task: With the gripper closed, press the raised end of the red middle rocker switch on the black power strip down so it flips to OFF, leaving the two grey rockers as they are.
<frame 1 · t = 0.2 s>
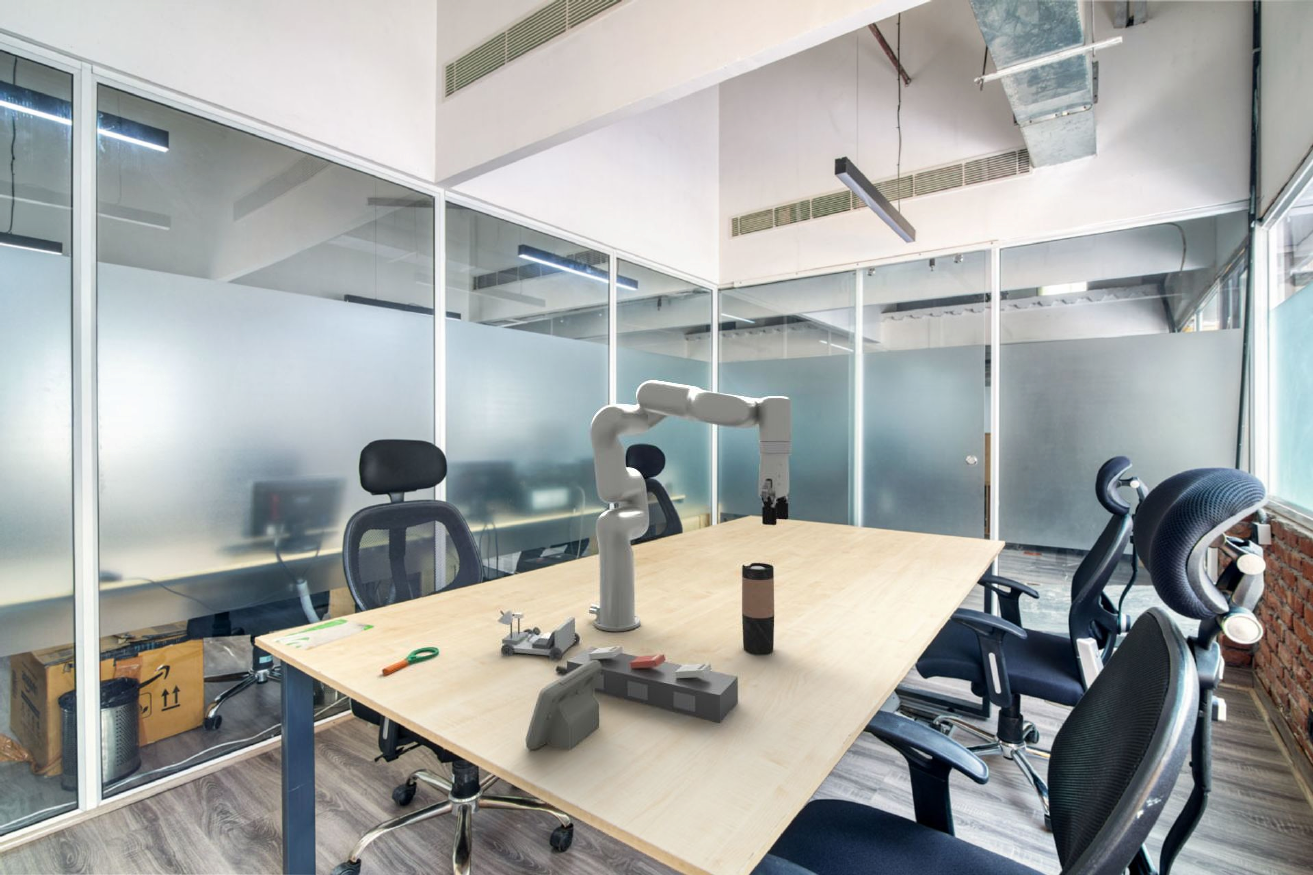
hand: (775, 521, 137), 31 cm above the table, tool pointing down, fingers open, 9 cm apart
rocker left: (605, 652, 121), point 6 cm above the table, hinge at -14.0°
toy car: (536, 650, 141), on the table
rocker right: (693, 670, 111), point 6 cm above the table, hinge at -14.0°
rocker middle: (647, 661, 116), point 6 cm above the table, hinge at -14.0°
travel mug: (758, 650, 139), on the table
power strip: (649, 693, 116), on the table
digital clock: (565, 733, 101), on the table
magnifying glass: (411, 664, 133), on the table
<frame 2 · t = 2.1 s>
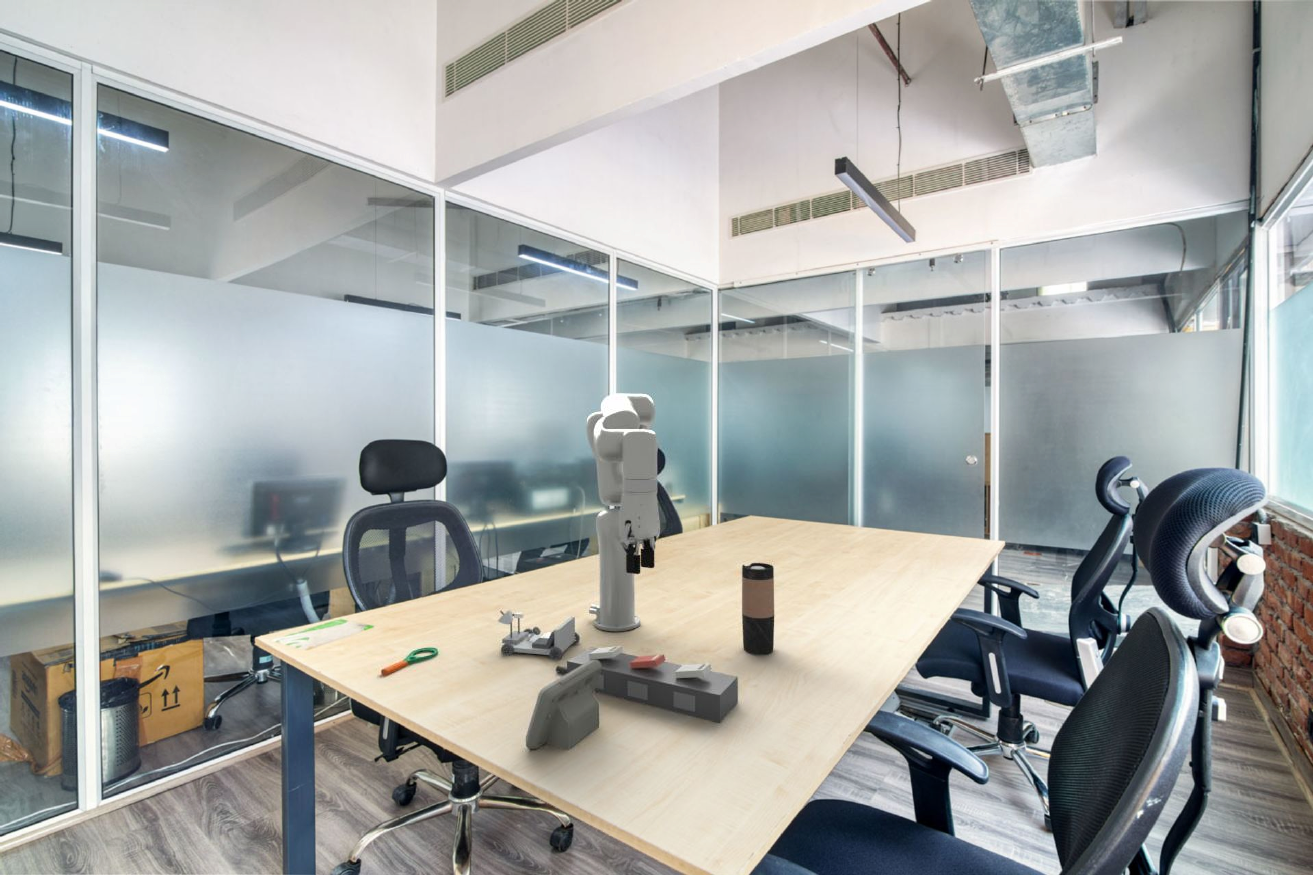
hand: (640, 569, 126), 22 cm above the table, tool pointing down, fingers open, 5 cm apart
nothing on the table moved.
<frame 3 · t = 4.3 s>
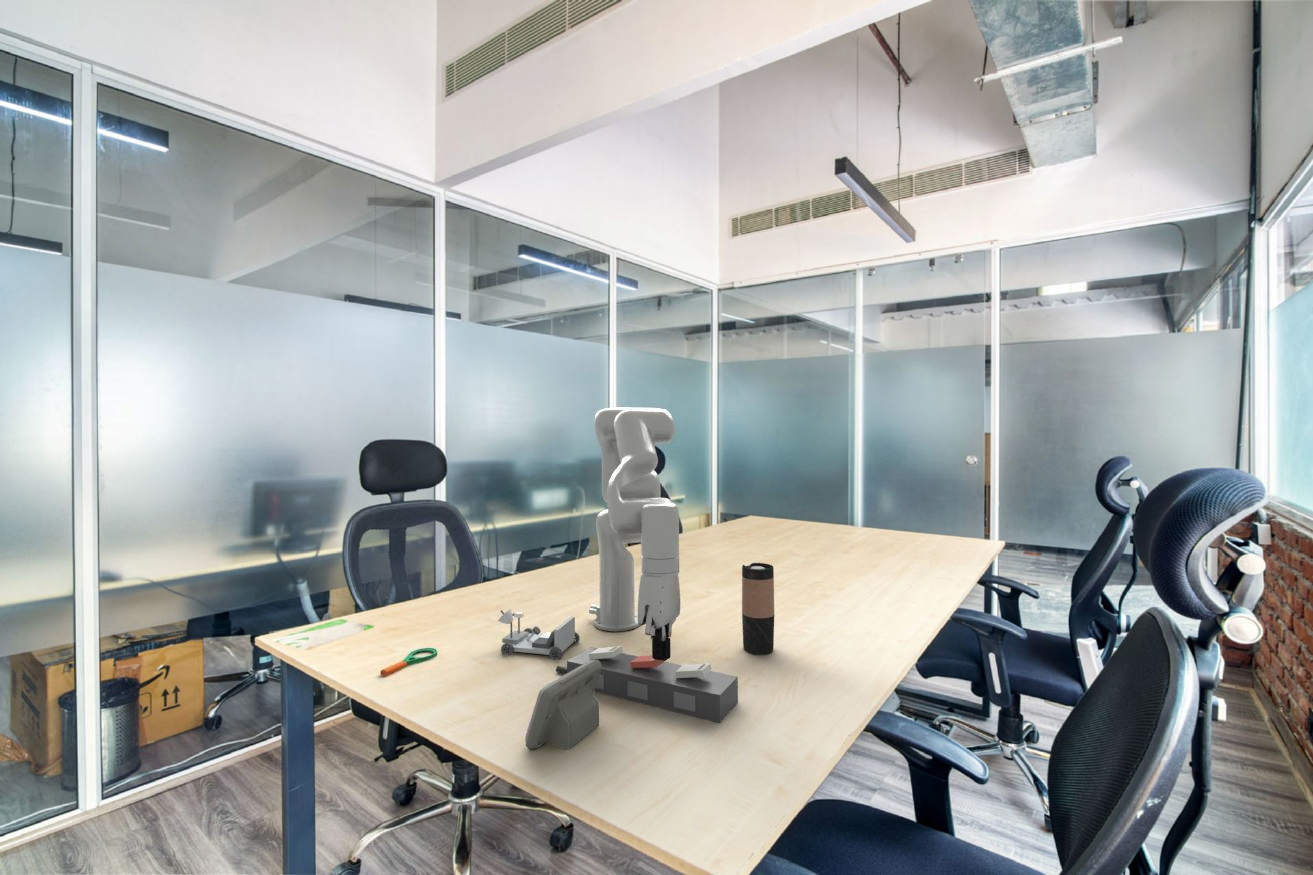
hand: (661, 658, 114), 8 cm above the table, tool pointing down, fingers closed
rocker middle: (647, 661, 116), point 6 cm above the table, hinge at -12.8°, touching gripper
everything else where it was.
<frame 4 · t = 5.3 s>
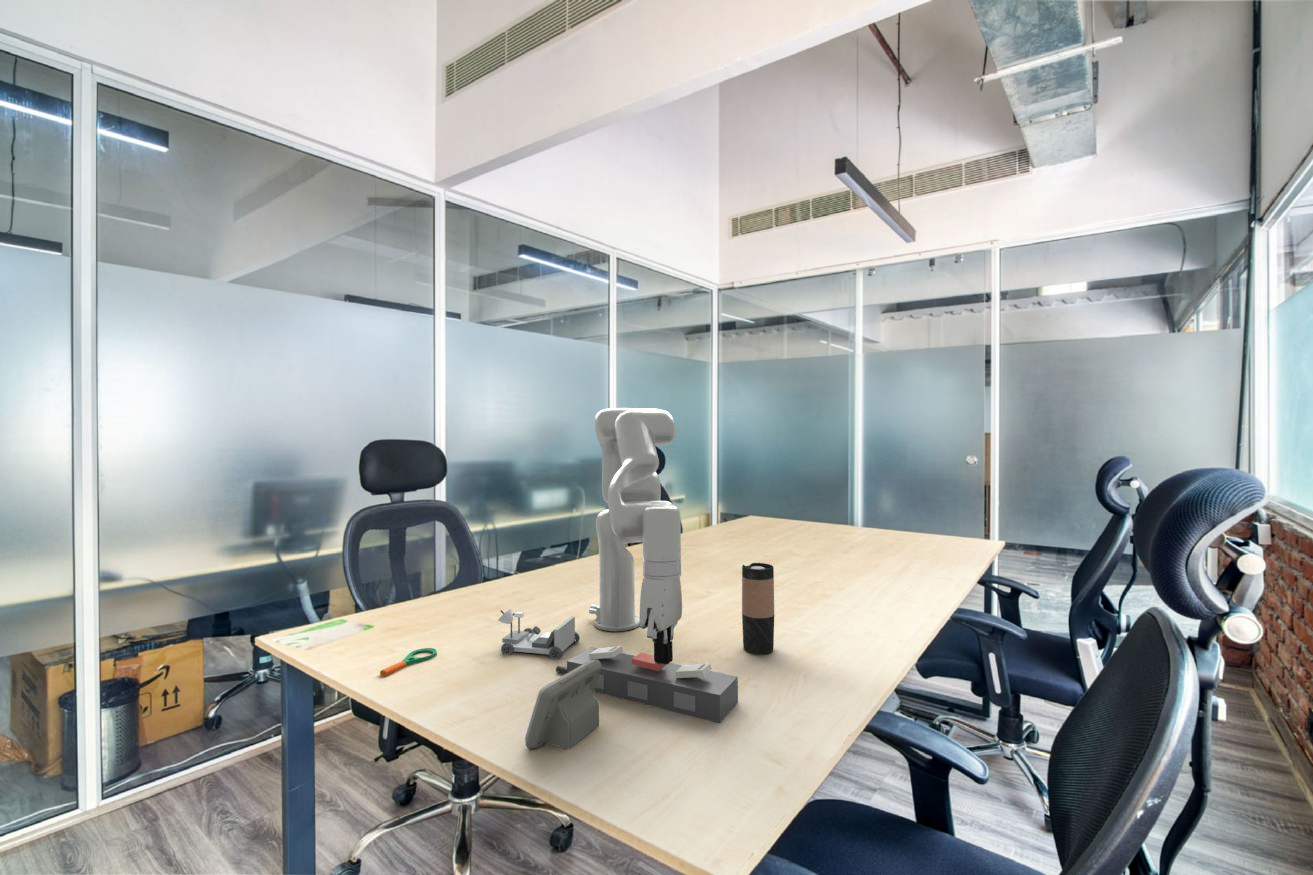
hand: (663, 661, 114), 7 cm above the table, tool pointing down, fingers closed
rocker middle: (649, 661, 116), point 6 cm above the table, hinge at 2.2°, touching gripper
everything else where it was.
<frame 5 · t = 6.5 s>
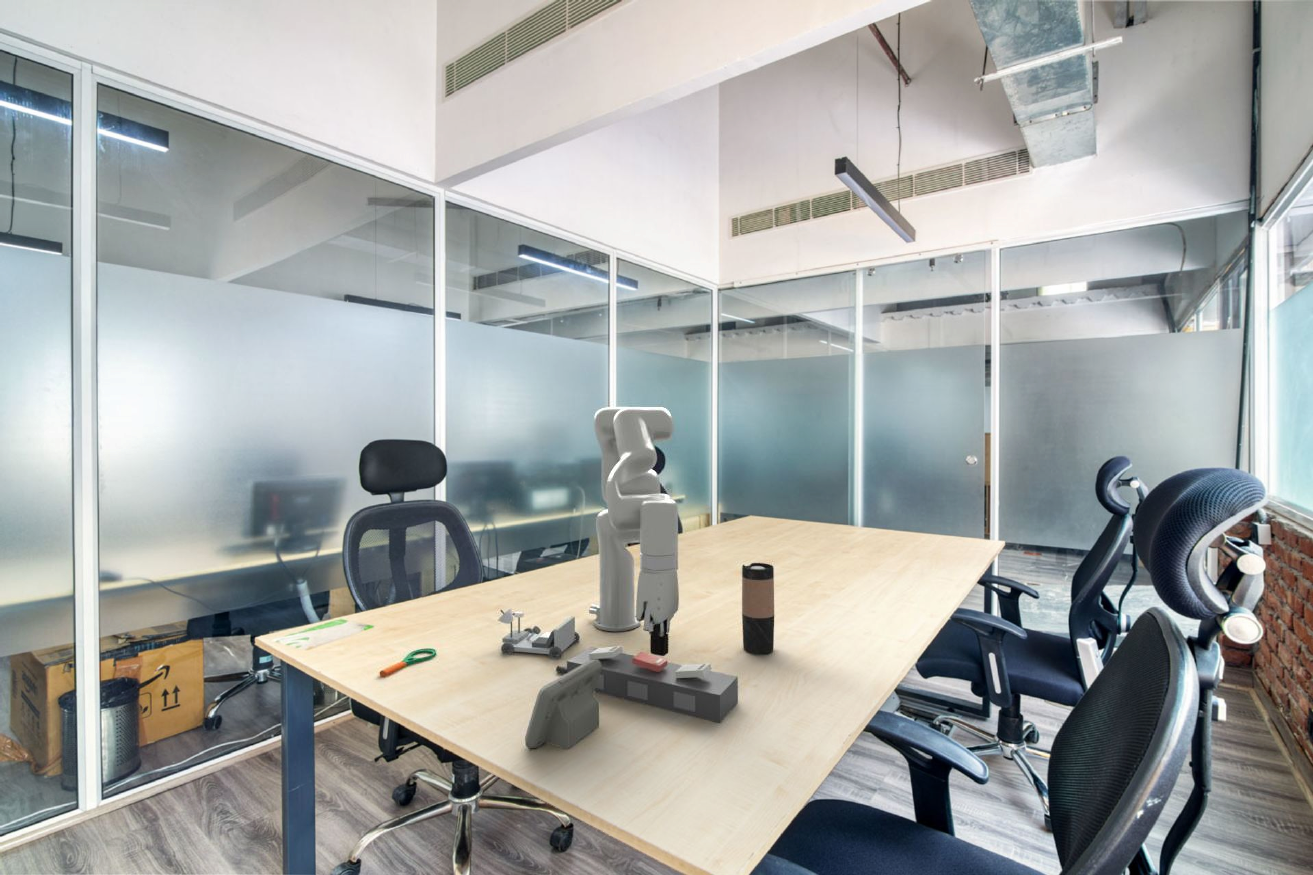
hand: (659, 653, 115), 8 cm above the table, tool pointing down, fingers closed
rocker middle: (649, 661, 116), point 6 cm above the table, hinge at 5.7°
everything else where it was.
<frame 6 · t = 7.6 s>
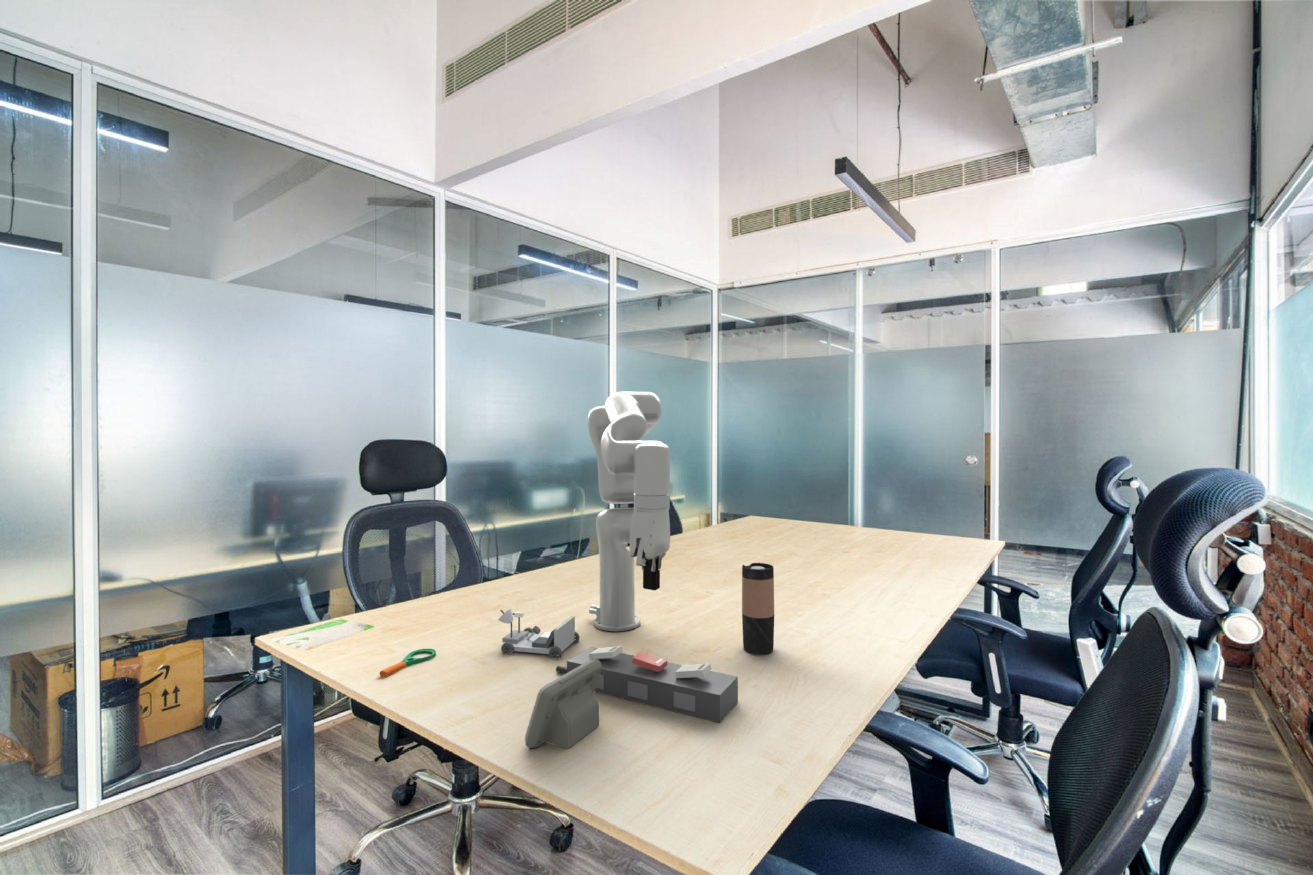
hand: (651, 588, 122), 19 cm above the table, tool pointing down, fingers closed
rocker middle: (649, 661, 116), point 6 cm above the table, hinge at 6.3°
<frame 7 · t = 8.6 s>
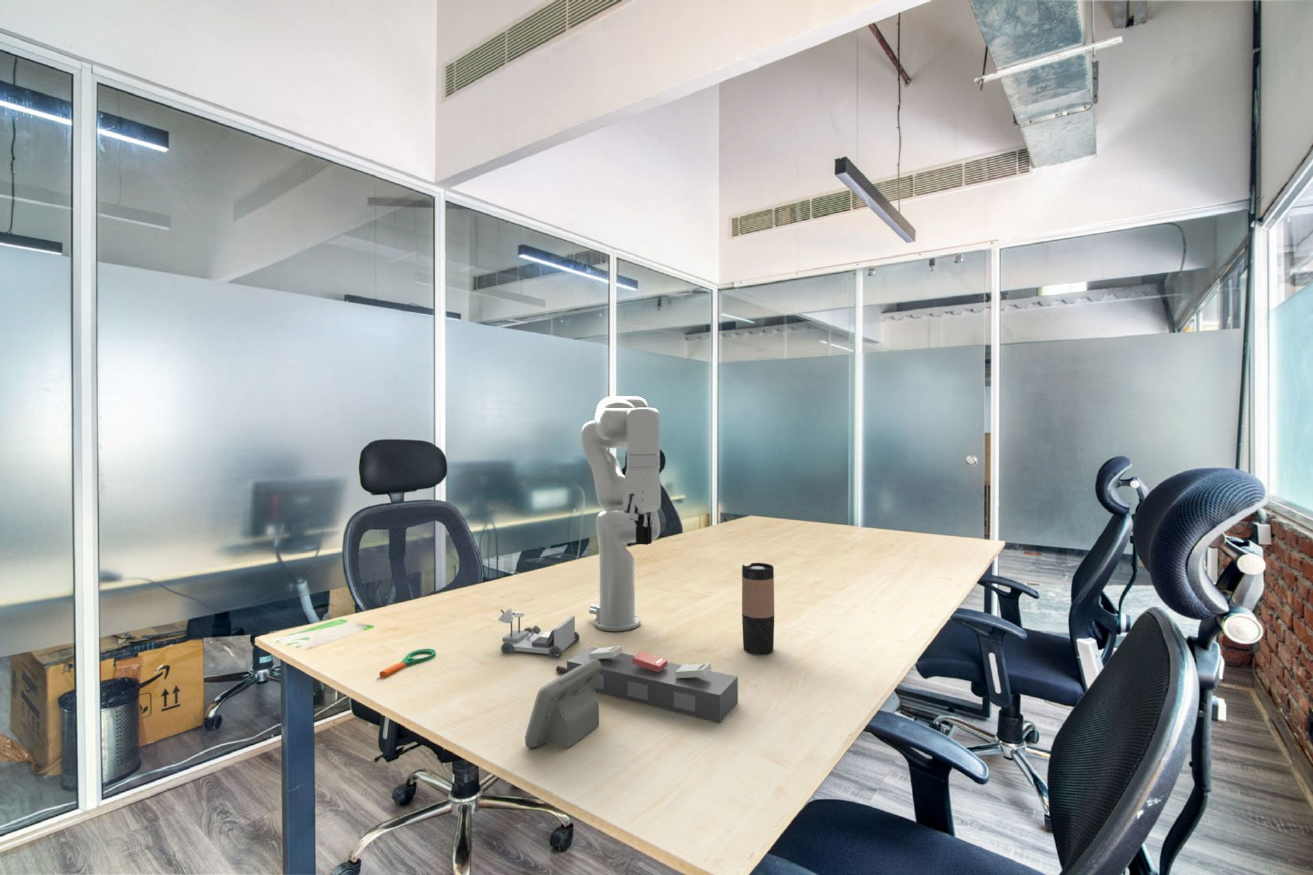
hand: (643, 543, 131), 27 cm above the table, tool pointing down, fingers closed
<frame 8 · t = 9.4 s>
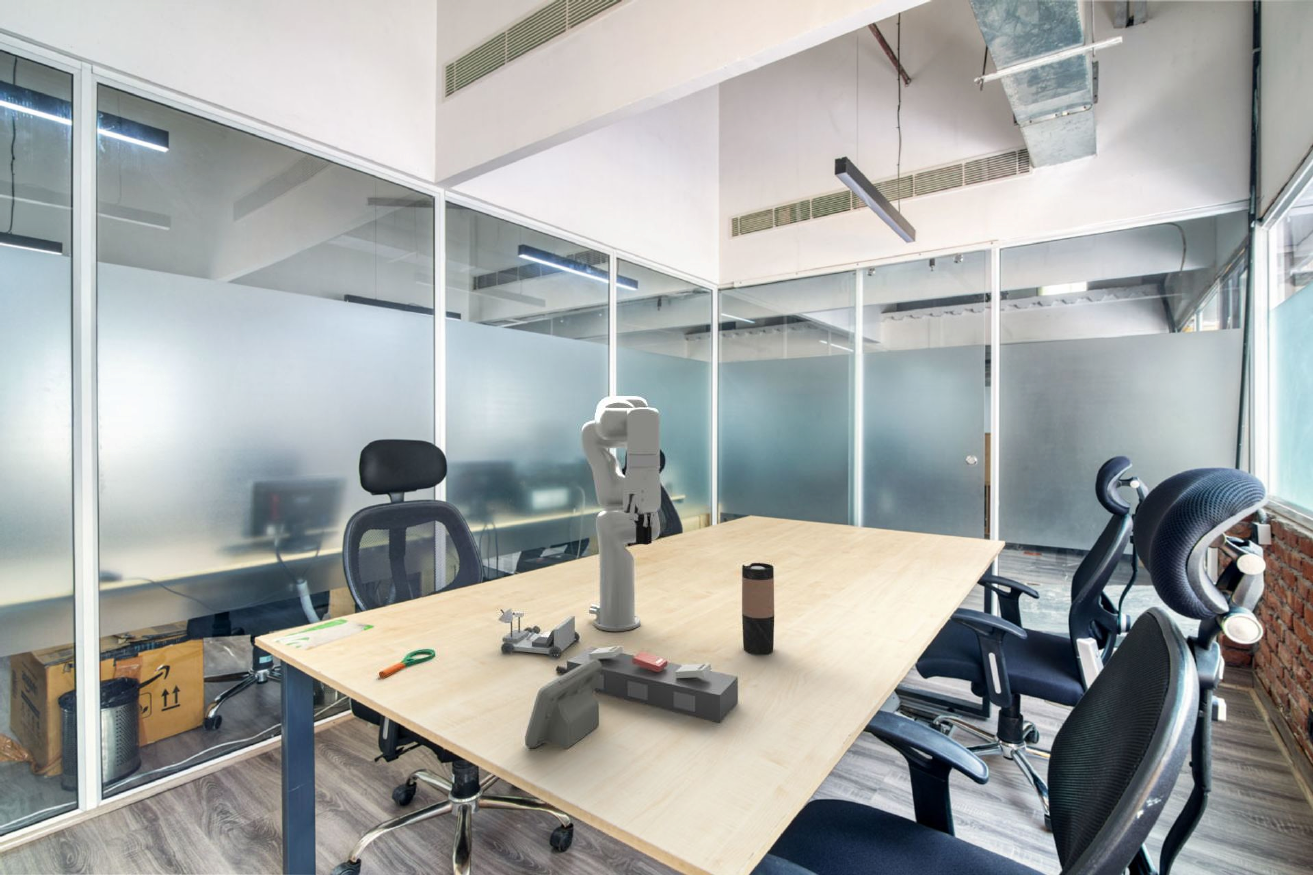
hand: (643, 543, 131), 27 cm above the table, tool pointing down, fingers closed
at the end: rocker middle at +6° (first picture: -14°); rocker left at -14° (first picture: -14°); rocker right at -14° (first picture: -14°) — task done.
